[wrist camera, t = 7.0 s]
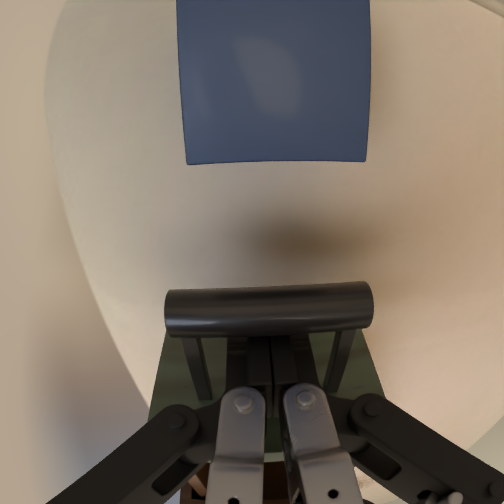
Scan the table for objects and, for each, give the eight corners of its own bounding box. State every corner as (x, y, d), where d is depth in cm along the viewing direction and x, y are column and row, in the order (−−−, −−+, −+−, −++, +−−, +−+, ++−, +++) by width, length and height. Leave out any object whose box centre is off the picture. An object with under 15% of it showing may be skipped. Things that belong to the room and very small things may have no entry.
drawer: (146, 226, 14) (80, 364, 7) (373, 218, 14) (458, 343, 7) (203, 426, 24) (198, 506, 17) (322, 420, 24) (335, 499, 17)
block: (206, 133, 12) (186, 166, 8) (200, 20, 10) (175, -10, 5) (324, 130, 12) (366, 162, 8) (324, 20, 10) (370, -6, 5)
